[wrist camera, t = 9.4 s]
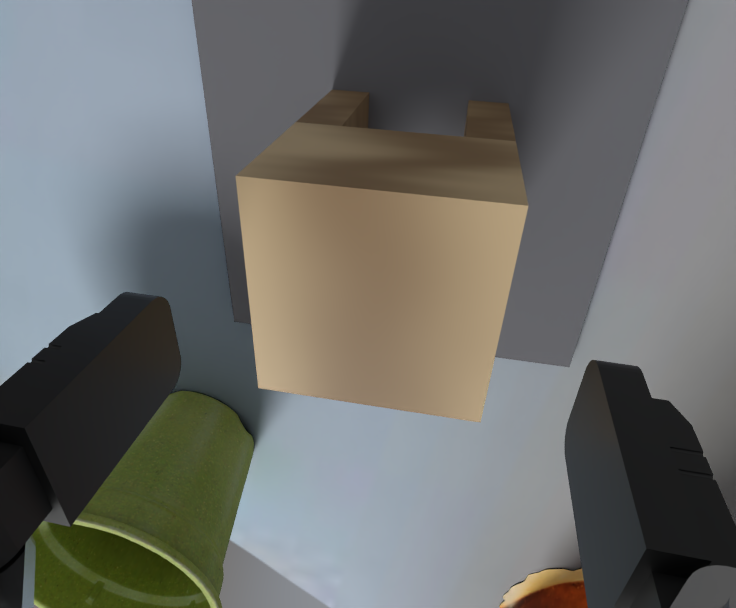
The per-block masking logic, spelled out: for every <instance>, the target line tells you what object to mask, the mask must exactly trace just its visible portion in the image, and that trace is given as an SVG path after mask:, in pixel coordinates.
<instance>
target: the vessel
mask: <svg viewBox="0 0 736 608" xmlns="http://www.w3.org/2000/svg"><path fill="white" fill-rule="evenodd" d="M503 598H504V600H505V601H504V602H503V603H502V604H501V605H500V608H588V605H587V599H586V592H585V585H584V579H583V572H582V568H581V569H578V570H575V571H570V570H565V569H548V570H544V571H541V572H539V573H534V574H530V575H528V577H527V578H526V580H525V581H524V582H522V583H520V584H517V585H515V586H513V587H511V589H510V590H509V592H508V593H506V594H505V595H504V596H503Z"/></svg>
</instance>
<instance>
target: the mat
mask: <svg viewBox="0 0 736 608" xmlns="http://www.w3.org/2000/svg"><path fill="white" fill-rule="evenodd" d="M688 1H689V0H192V6H193V14H194V22H195V29H196V37H197V44H198V52H199V59H200V67H201V74H202V82H203V89H204V97H205V104H206V112H207V119H208V127H209V134H210V142H211V149H212V157H213V164H214V172H215V179H216V187H217V194H218V202H219V210H220V217H221V225H222V232H223V240H224V247H225V255H226V262H227V270H228V277H229V285H230V292H231V300H232V307H233V315H234V321H235V322H242V323H250V324H251V315H250V306H249V297H248V287H247V278H246V269H245V259H244V250H243V241H242V231H241V222H240V213H239V204H238V194H237V185H236V175H237V174H238V173H239V172H240V171H242V170H243V169H244V168H245V167H246V166H247V165H248V164H249V163H250V162H252V161H253V160H254V159H255V158H256V157H257V156H258V155H259V154H261V153H262V152H263V151H264V150H265V149H266V148H267V147H268V146H270V145H271V144H272V143H273V142H274V141H275V140H276V139H277V138H278V137H280V136H281V135H282V134H283V133H284V132H285V131H286V130H287V129H289V128H290V127H291V126H292V125H293V124H294V123H295V122H296V121H297V120H299V119H300V118H301V117H302V116H303V115H304V114H305V113H306V112H308V111H309V110H310V109H311V108H312V107H313V106H314V105H315V104H317V103H318V102H319V101H320V100H321V99H322V98H323V97H324V96H325V95H327V94H328V93H329V92H330V91H331V90H344V91H357V92H369V116H368V128H369V129H381V130H392V131H404V132H415V133H426V134H438V135H449V136H461V137H464V131H465V124H466V116H467V109H468V102H469V100H472V101H484V102H497V103H509V108H510V114H511V119H512V124H513V129H514V134H515V139H516V144H517V149H518V155H519V160H520V165H521V170H522V175H523V180H524V185H525V190H526V196H527V201H528V210H527V215H526V219H525V224H524V228H523V233H522V237H521V242H520V246H519V251H518V255H517V260H516V264H515V269H514V273H513V278H512V282H511V287H510V291H509V296H508V300H507V305H506V309H505V314H504V318H503V323H502V327H501V332H500V336H499V341H498V345H497V350H496V354H495V357H499V358H506V359H513V360H521V361H528V362H535V363H543V364H550V365H557V366H565V367H570V364H571V361H572V357H573V354H574V351H575V348H576V345H577V342H578V339H579V336H580V333H581V330H582V327H583V324H584V321H585V317H586V314H587V311H588V308H589V305H590V302H591V299H592V296H593V293H594V290H595V287H596V284H597V281H598V277H599V274H600V271H601V268H602V265H603V262H604V259H605V256H606V253H607V250H608V247H609V244H610V241H611V237H612V234H613V231H614V228H615V225H616V222H617V219H618V216H619V213H620V210H621V207H622V204H623V201H624V197H625V194H626V191H627V188H628V185H629V182H630V179H631V176H632V173H633V170H634V167H635V164H636V161H637V157H638V154H639V151H640V148H641V145H642V142H643V139H644V136H645V133H646V130H647V127H648V124H649V121H650V117H651V114H652V111H653V108H654V105H655V102H656V99H657V96H658V93H659V90H660V87H661V84H662V81H663V77H664V74H665V71H666V68H667V65H668V62H669V59H670V56H671V53H672V50H673V47H674V44H675V41H676V37H677V34H678V31H679V28H680V25H681V22H682V19H683V16H684V13H685V10H686V7H687V4H688Z"/></svg>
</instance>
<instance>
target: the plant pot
mask: <svg viewBox="0 0 736 608" xmlns="http://www.w3.org/2000/svg"><path fill="white" fill-rule="evenodd" d="M253 451H254V442H253V438H252V436H251V434H249V433H248V432H247V431H246V430H245V428H244V426H243V425H242V423H241V421H240V419H239V417H238V415H237V414H236V413H235V412H234V411H233V410H232V409H231V408H229V407H228V406H226V405H225V404H223V403H221V402H220V401H218V400H216V399H214V398H211V397H209V396H206V395H203V394H200V393H196V392H190V391H178V392H175V393H172V394H169V395H168V397H167V398H166V400H165V401H164V402H163V404H162V405H161V406H160V408H159V409H158V410H157V412H156V413H155V414H154V416H153V417H152V418H151V420H150V421H149V422H148V424H147V425H146V426H145V428H144V429H143V430H142V432H141V433H140V434H139V436H138V437H137V438H136V440H135V441H134V442H133V444H132V445H131V446H130V448H129V449H128V451H127V452H126V453H125V455H124V456H123V457H122V459H121V460H120V461H119V463H118V464H117V465H116V467H115V468H114V469H113V471H112V472H111V473H110V475H109V476H108V477H107V479H106V480H105V481H104V483H103V484H102V485H101V487H100V488H99V489H98V491H97V492H96V493H95V495H94V496H93V498H92V499H91V500H90V502H89V503H88V504H87V506H86V507H85V508H84V510H83V511H82V512H81V514H80V515H79V516H78V518H77V519H76V520H75V522H74V523H73V524H72V526H71V527H69V526H64V525H60V524H55V523H50V522H46V521H43V522H42V523H41V524H40V525H39V527H38V528H37V529H36V530H35V532H34V533H33V534H32V536H33V538H34V540H35V545H36V554H35V583H34V604H35V605H36V606H38V607H39V608H222V605H221V601H220V598H219V594H220V591H221V587H222V582H223V561H224V558H225V554H226V550H227V547H228V543H229V539H230V536H231V532H232V528H233V525H234V521H235V517H236V514H237V510H238V506H239V502H240V499H241V495H242V492H243V488H244V485H245V481H246V478H247V474H248V471H249V467H250V463H251V459H252V456H253Z"/></svg>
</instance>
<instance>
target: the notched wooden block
mask: <svg viewBox="0 0 736 608" xmlns="http://www.w3.org/2000/svg"><path fill="white" fill-rule="evenodd" d="M368 116H369V92H357V91H344V90H331V91H330V92H329V93H328V94H327V95H325V96H324V97H323V98H322V99H321V100H320V101H319V102H318V103H317V104H315V105H314V106H313V107H312V108H311V109H310V110H309V111H308V112H306V113H305V114H304V115H303V116H302V117H301V118H300V119H299V120H297V121H296V122H295V123H294V124H293V125H292V126H291V127H290V128H289V129H287V130H286V131H285V132H284V133H283V134H282V135H281V136H280V137H278V138H277V139H276V140H275V141H274V142H273V143H272V144H271V145H270V146H268V147H267V148H266V149H265V150H264V151H263V152H262V153H261V154H259V155H258V156H257V157H256V158H255V159H254V160H253V161H252V162H250V163H249V164H248V165H247V166H246V167H245V168H244V169H243V170H242V171H240V172H239V173H238V174H237V175H236V185H237V194H238V204H239V213H240V222H241V231H242V241H243V250H244V259H245V269H246V278H247V287H248V297H249V306H250V315H251V324H252V334H253V343H254V352H255V362H256V371H257V380H258V388H261V389H268V390H274V391H280V392H287V393H293V394H300V395H306V396H313V397H319V398H326V399H332V400H339V401H345V402H352V403H358V404H364V405H371V406H377V407H384V408H390V409H397V410H403V411H410V412H416V413H423V414H429V415H436V416H442V417H448V418H455V419H461V420H468V421H474V422H481V417H482V413H483V408H484V404H485V399H486V395H487V390H488V386H489V381H490V377H491V372H492V368H493V363H494V359H495V354H496V350H497V345H498V341H499V336H500V332H501V327H502V323H503V318H504V314H505V309H506V305H507V300H508V296H509V291H510V287H511V282H512V278H513V273H514V269H515V264H516V260H517V255H518V251H519V246H520V242H521V237H522V233H523V228H524V224H525V219H526V215H527V210H528V201H527V196H526V190H525V185H524V180H523V175H522V170H521V165H520V160H519V155H518V149H517V144H516V139H515V134H514V129H513V124H512V119H511V114H510V108H509V103H497V102H484V101H472V100H469V102H468V109H467V116H466V124H465V131H464V137H461V136H449V135H438V134H426V133H415V132H404V131H392V130H381V129H369V128H368Z"/></svg>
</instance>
